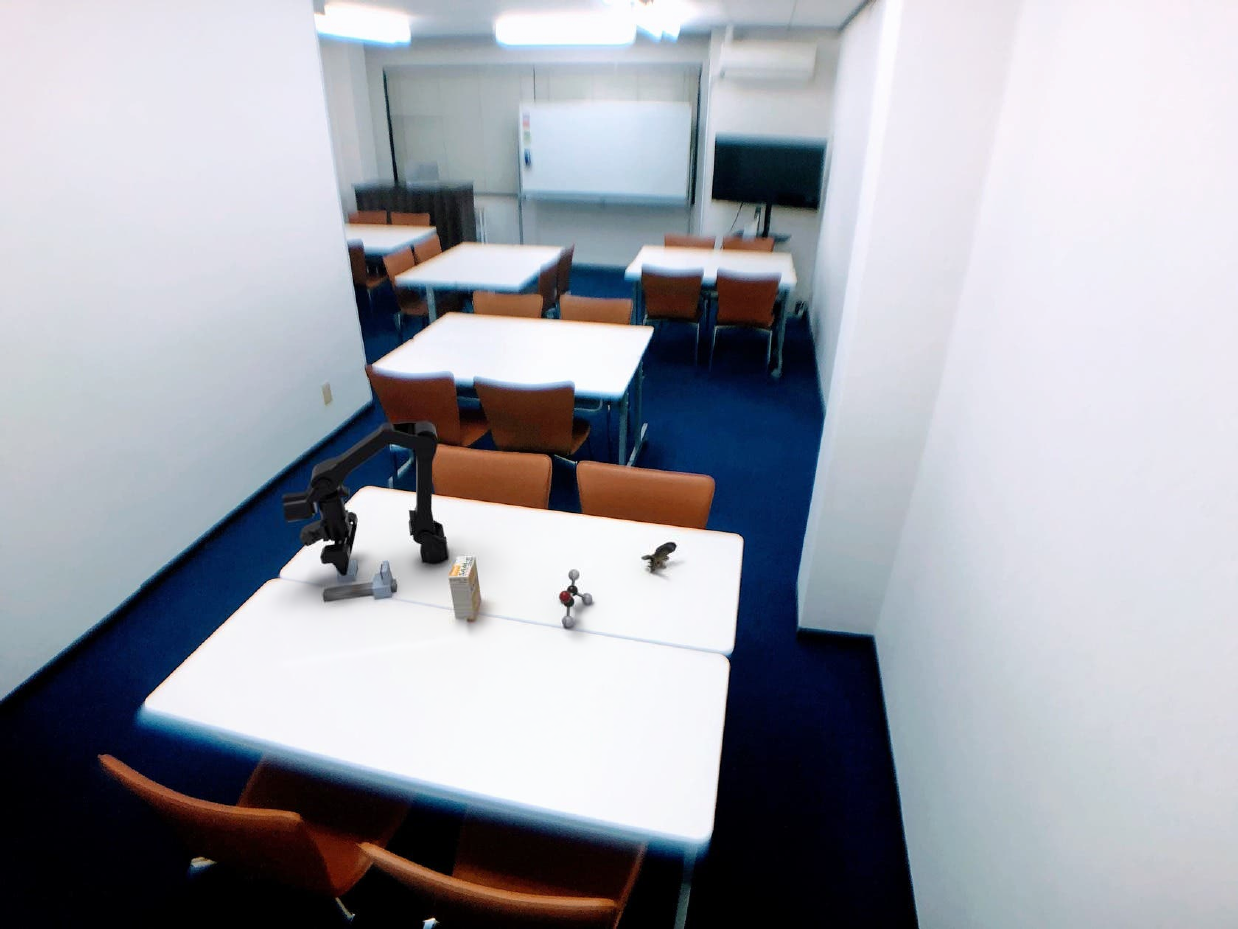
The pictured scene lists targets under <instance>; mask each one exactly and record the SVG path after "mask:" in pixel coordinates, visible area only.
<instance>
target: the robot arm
mask: <svg viewBox="0 0 1238 929" xmlns="http://www.w3.org/2000/svg"><path fill="white" fill-rule="evenodd" d="M438 444H439V439H438V435H437V430H436V426H435V425H434V424H433V423H432V422H430V421H428V420H420V421H418V422H417V421H403V422H384V423H381V425H380V426H379V427H378V428H377V429H375V430H374V431H373V432H371V433H370V434H368V435H367V436H366V437H364V438H363V439H361V440H359V442H356V444H354V445H353V446H352V447H350V448H348V449H347V450H346V451H345V452H343V453H342V454H340V455H338V456H335V457H330V458H328V459H325V460H323V461H321V462H320V463H317V464H316V465H315V466H314V467H313V469H312V472H311V480H310V482H309V484H308V485H307V490H306V491H301V492H300V491H299V492H296V493H284V494H283V495H282V499H281V500H282V502H283V503H282V504H283V516H284V519H285V522H287V523H292V522H297V521H303V520H308V519H313V518H314V517H315V514H317V513H318V510H319V513H320V516H321V519H319V520H316V521H313V522H312V523H309V524H306V525H305V526H303V527H302V529H301V532H300V534H299V540H300V541H301V543H300V544H301V545H304V546H305V547H310V546H312V545H314V544H316V543H317V542H319V541H321V540H322V541H323V543H325V542H329V541H331V542H333V543H332V544H326V545H324V547H323V548H322V549H321V552H320V556H319V558H320V561H321V564H323V565H329V564H331V565H333V566H334V567H335V569H337V570H338V571H339V573H340V574H341V575H342V576H346V575H347V570H348V565H349V561H351V559H350V558H351V554H352V552H353V547H354V542H355V538H356V533H357V528H358V522H359V519H358V516H357V515H358V514H356V513H355V512H354V511H349V510H348V509H346V506H345V503H344V502H345V501H344V499H345V498H348V497H350V487H347V486H344V485H343V483H344V481H345V480H346V479H347V477H348V476H349V475H350V474H351V472H353V471H354V470H355V469H357V468H358V467H360V466H361V465H362V464H364V463H365V462H367V461H368V460H370V459H371V458H372V457H374V456H376V454H378V453H380V452H381V451H382V450H384V449H385V448H387V446H389V445H391V446H398V447H401V448H404V449H407V450H414V453H415V460H416V465H415V466H416V473H415V475H416V479H415V480H416V482H415V483H416V486H415V487H416V489H415V490H416V492H415V493H416V494H415V496H416V498H415V500H416V501H415V507H414V509H413V510H412V509H409V510H408V513H409V521H408V529H409V536H410V537H412V539H413V542H415V543H416V544H418V545H420V546H419V547H420V549H419V553H420V558H421V563H424V564H430V565H439V564H442V563H444V562H445V561H448V560H449V559H450V553H449V552H450V551H449V546H448V541H447V536H445V531H444V526H443V524H442V523H441V522H439V521H437V520H435V519H434V515H433V510H432V508H433V506H432V505H433V504H432V499H433V498H432V497H433V495H432V494H433V462H434V460H435V457H436V454H437V450H438ZM317 506H318V507H317ZM337 570H336V571H337Z"/></svg>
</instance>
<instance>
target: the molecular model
mask: <svg viewBox="0 0 1238 929" xmlns="http://www.w3.org/2000/svg"><path fill="white" fill-rule="evenodd" d="M567 576H568V579H569V580H571V585H569V586H568V587H567V588H566V590H562V591H561V592H560V593H559V594H558V599H559V600H560V601H561V602H562V603H563V605H564V607H566V613H565V614H566V615H564V616H563V617H562V619H561V624H562V625H563V626H564V627H566V628H569V627H572V626H573V625H574V618H573V617H572V616H571V608H572V607H574V605H575V598H574V597H577V596H578V597H579V598H581V599H580V600H581V602H582V603H583V604H584V605H589V604H591V603H592V602H593V596H592V595H591V593H589V592H584V593H580V592H579V589H578V586H576V585H575V584H576V581H577V580H578V579H579V578H580V572H579V570H577V569H570V571H569V572H568V574H567Z"/></svg>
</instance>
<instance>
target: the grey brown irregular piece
mask: <svg viewBox="0 0 1238 929" xmlns="http://www.w3.org/2000/svg"><path fill="white" fill-rule="evenodd" d="M677 547H678V545H677V543H675V542H674V541H668V542H665V543H664V544H663V543H662V544H661V545H660V546H657V548H656V549H655V550H654V551H655V552H654V553H652V554H645V555H642V556H641V560H642V561H647V563H649V564H650V565H646V568H650V572H649V573H650V574H652V573H653V572H654V571H656V569H657V568H659V567H663V568H665V569H667V564H666V562H664V561H663V559H670V556H669V554H671V553H674V552H675V551H676V549H677Z"/></svg>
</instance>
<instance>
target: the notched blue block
mask: <svg viewBox="0 0 1238 929" xmlns="http://www.w3.org/2000/svg"><path fill="white" fill-rule="evenodd" d="M335 569H336V568H335ZM358 569H359V563H358V560H357V559H354V560H349V565H348V570H347V575H346V576H342V575H341V574H340V573H339V571H338V570H337V569H336V572H337V580H338V584H344V583H350V582H357V576H356V575H357V570H358Z"/></svg>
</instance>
